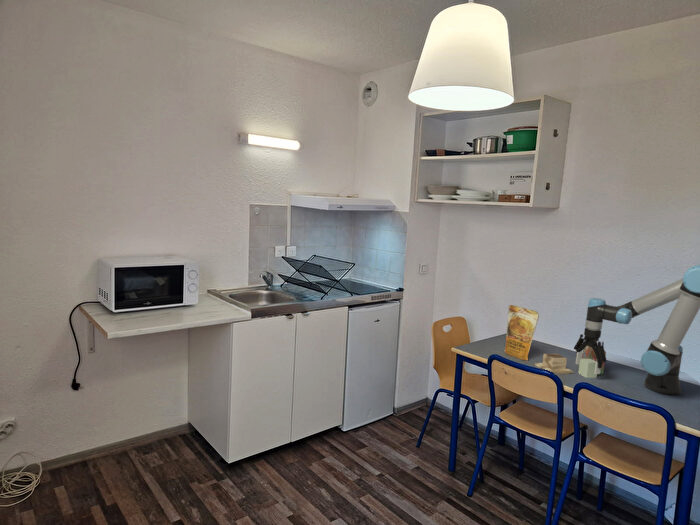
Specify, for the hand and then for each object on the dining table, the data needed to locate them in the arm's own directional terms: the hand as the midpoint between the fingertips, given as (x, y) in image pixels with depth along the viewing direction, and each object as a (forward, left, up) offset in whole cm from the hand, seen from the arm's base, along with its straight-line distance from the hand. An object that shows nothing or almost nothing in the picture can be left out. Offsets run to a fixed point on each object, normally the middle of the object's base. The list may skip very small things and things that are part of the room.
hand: (587, 369), depth 245 cm
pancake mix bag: (+32, +20, -4) cm, 38 cm away
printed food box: (+11, -13, -4) cm, 18 cm away
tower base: (+10, +12, -3) cm, 16 cm away
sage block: (0, 0, -4) cm, 4 cm away
